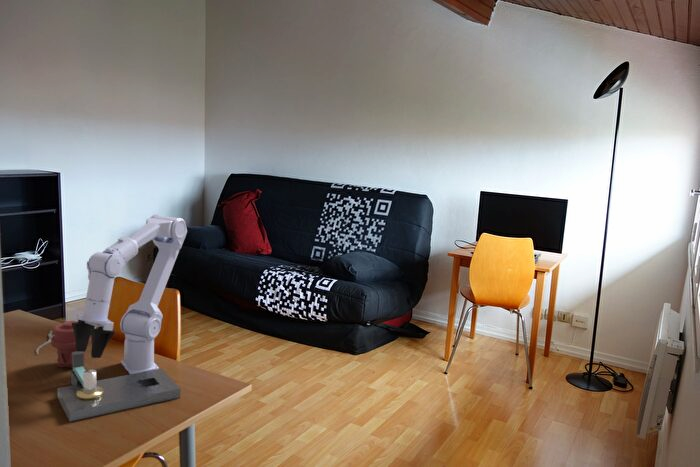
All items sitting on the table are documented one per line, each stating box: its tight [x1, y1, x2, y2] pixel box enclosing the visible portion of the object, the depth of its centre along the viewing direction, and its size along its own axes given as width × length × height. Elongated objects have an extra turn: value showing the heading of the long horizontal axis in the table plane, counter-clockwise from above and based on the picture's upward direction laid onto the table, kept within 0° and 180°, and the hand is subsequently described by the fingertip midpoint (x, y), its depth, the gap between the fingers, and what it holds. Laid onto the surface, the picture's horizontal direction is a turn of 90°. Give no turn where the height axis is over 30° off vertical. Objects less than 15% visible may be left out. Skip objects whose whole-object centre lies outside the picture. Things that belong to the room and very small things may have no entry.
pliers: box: [35, 329, 54, 356], centre depth 181 cm, size 10×1×20 cm
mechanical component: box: [50, 320, 92, 369], centre depth 165 cm, size 12×10×10 cm
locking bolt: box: [72, 351, 86, 386], centre depth 150 cm, size 12×2×5 cm, turn 36°
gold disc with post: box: [77, 369, 103, 400], centre depth 144 cm, size 6×6×8 cm
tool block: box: [56, 368, 181, 423], centre depth 152 cm, size 21×26×3 cm
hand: (88, 354), depth 148 cm, fingers open, 7 cm apart
